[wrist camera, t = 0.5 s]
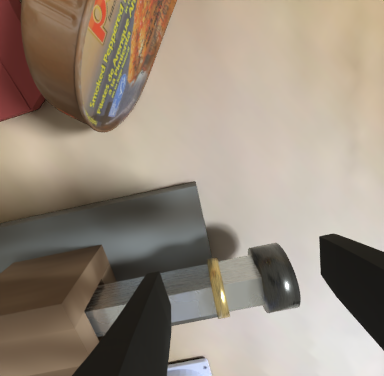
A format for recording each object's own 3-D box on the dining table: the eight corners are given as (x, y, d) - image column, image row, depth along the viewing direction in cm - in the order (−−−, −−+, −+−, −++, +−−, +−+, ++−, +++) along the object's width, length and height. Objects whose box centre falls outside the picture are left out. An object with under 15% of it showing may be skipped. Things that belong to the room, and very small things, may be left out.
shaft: (274, 275, 18) (301, 322, 14) (76, 314, 18) (44, 371, 14) (269, 232, 16) (298, 269, 12) (56, 275, 17) (14, 325, 13)
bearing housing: (222, 305, 22) (239, 390, 15) (42, 340, 22) (-22, 437, 15) (195, 181, 17) (202, 220, 10) (-27, 229, 18) (-158, 294, 11)
